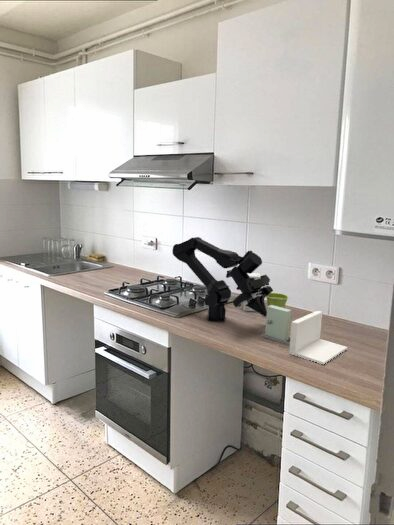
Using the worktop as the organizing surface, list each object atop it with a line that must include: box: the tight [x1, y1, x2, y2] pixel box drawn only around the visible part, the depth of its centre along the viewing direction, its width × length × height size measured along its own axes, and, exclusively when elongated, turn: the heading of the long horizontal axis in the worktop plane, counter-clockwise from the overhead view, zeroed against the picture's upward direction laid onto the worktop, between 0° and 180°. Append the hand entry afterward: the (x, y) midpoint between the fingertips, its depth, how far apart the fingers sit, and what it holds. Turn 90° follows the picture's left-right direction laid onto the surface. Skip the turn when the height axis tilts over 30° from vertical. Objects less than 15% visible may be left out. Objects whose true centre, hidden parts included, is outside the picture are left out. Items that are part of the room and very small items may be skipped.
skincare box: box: [243, 272, 261, 313], centre depth 182 cm, size 8×7×16 cm
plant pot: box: [265, 292, 289, 308], centre depth 175 cm, size 9×9×9 cm
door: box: [264, 305, 292, 342], centre depth 148 cm, size 8×4×11 cm, turn 48°
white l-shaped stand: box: [261, 310, 348, 365], centre depth 143 cm, size 27×18×11 cm, turn 48°
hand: (266, 315), depth 152 cm, fingers closed
